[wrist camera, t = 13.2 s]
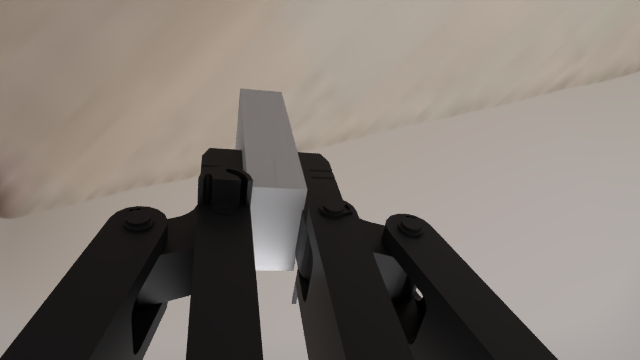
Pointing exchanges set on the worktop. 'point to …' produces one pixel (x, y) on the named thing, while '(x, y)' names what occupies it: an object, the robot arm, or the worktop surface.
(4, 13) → the worktop surface
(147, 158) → the worktop surface
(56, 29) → the worktop surface
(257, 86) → the worktop surface
